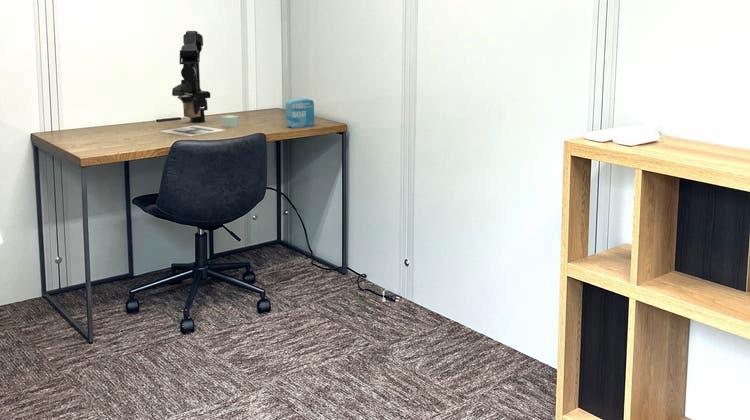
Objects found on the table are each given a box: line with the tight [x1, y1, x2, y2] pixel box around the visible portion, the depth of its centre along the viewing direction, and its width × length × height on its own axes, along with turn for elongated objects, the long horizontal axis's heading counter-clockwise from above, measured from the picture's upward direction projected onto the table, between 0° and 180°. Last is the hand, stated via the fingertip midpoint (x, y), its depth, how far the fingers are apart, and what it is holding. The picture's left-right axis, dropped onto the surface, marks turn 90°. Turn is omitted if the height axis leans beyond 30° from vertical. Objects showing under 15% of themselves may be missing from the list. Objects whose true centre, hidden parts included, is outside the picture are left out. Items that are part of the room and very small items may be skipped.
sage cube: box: [220, 115, 240, 129], centre depth 407 cm, size 6×6×6 cm
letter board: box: [161, 124, 225, 137], centre depth 396 cm, size 20×20×1 cm
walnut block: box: [182, 102, 200, 119], centre depth 394 cm, size 5×5×6 cm
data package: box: [285, 98, 315, 129], centre depth 412 cm, size 12×4×12 cm, turn 123°
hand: (192, 113), depth 394 cm, fingers closed on walnut block, 5 cm apart
